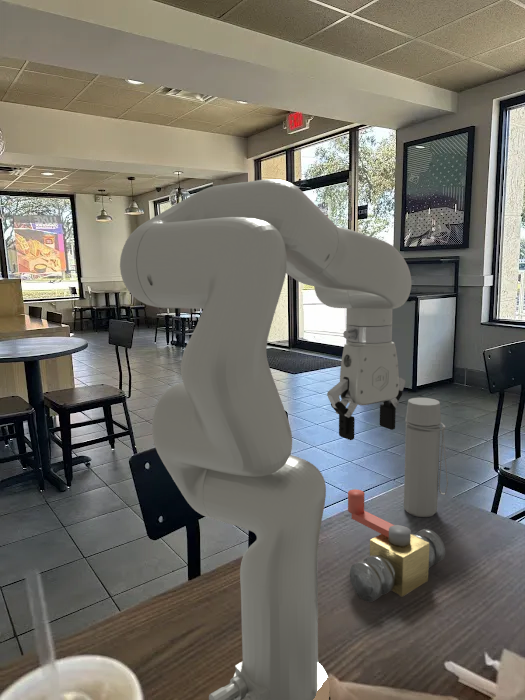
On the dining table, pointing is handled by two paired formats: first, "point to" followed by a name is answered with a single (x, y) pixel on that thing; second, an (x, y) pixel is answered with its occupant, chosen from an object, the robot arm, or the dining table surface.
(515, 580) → the dining table surface
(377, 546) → the valve
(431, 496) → the water bottle
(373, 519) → the lever
